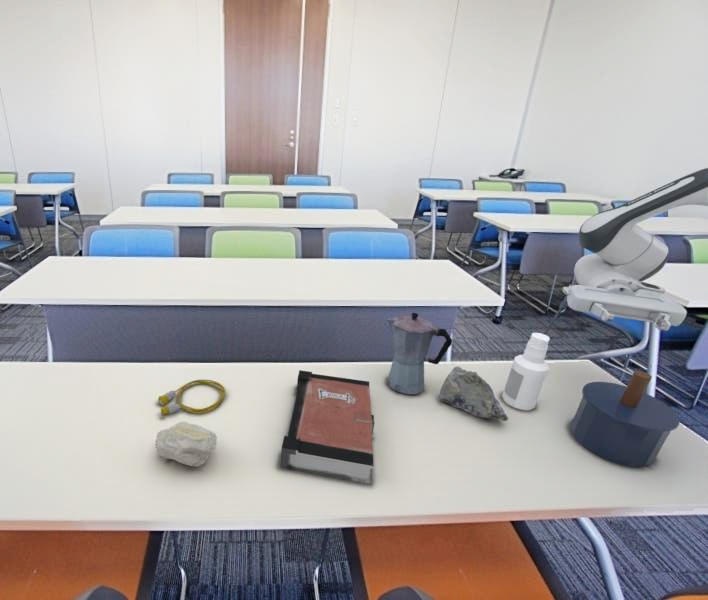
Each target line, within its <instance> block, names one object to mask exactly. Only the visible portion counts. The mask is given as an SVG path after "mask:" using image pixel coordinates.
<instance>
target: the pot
mask: <svg viewBox="0 0 708 600" xmlns="http://www.w3.org/2000/svg"><path fill="white" fill-rule="evenodd" d="M569 426H570V427H569V430H570V433H571V435H572V437H573V438H574V439H575V440H576V442H577V443H579V444H580V445H581V446H582V447H583V448H584V449H586V450H587V451H589V452H590V453H592V454H593V455H596V456H597V457H599V458H601V459H604V460H606V461H608V462H611V463H613V464H616V465H620V466H624V467H628V468H645V467H649V466H650V465H652V463H654V462H655V460H656V458H657V456H658V454H659V453H660V451H661V449H662V448H663V445H664V444H665V442H666V441H667V439H668V437H669V436H670V433H671V432H672V431H668V432H655V431H648V430H643V429H639V428H635V427H632V426H629V425H626V424H623V423H621V422H619V421H616V420H614V419H612V418H610V417H608V416H606V415H604V414H603V413H601V412H599V411H598V410H596V409H595V408H594V407H592V406H591V405H590V404H589V403H588V402H587V401H586V400H585V399H584V397H583V396H582V397H581V400H580V402H579V405H578V406H577V409H576V412H575V414H574V417H573V419H572V421H571V423H570V425H569Z"/></svg>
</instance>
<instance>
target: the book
mask: <svg viewBox="0 0 708 600" xmlns="http://www.w3.org/2000/svg"><path fill="white" fill-rule="evenodd" d="M298 371H299V372H298V376H297V380H296V381H297V383H296V396H295V401H294V406H293V411H292V415H291V420H290V423H289V430H288V433H287V435H284V436H283V439H282V444H281V452H280V468H281V469H286V470H287V469H288V470H292V471H298V472H302V473H308V474H313V475H317V476H324V477H329V478H334V479H339V480H345V481H349V482H356V483H361V484H365V485H371V482H372V478H371V476H372V475H371V470H374V467H375V466H374V448H373V435H374V428H375V416H374V415H375V414H372V410H371V409H372V407H371V388H370V387H371V386H370V381H369V380H368V381H366V380H362V379H361V380H360V379H353V378H347V377H340V376H339V377H338V376H332V375H326V374H325V375H324V374H316V373H313V371H308V370H301V369H300V370H298Z"/></svg>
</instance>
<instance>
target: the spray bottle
mask: <svg viewBox="0 0 708 600" xmlns="http://www.w3.org/2000/svg"><path fill="white" fill-rule="evenodd" d="M550 338H551V337H550V336H549V335H546V334H544V333H539V332H532V333H531V335H530V338H529V340H528V341H527V344H526V346H525V349H524V351H523V354H518V355H516V356H515V357H514V358H513V361H512V365H511V368H510V371H509V372H508V373H509V374H508V377H507V380H506V383H505V386H504V389H503V392H502V394H501V397H502V400H503V401H504V402H505V403H506V404H507V405H508V406H510V407H513V408H515V409H518V410H522V411H531V410H533V409H535V408H536V405H537V402H538V399H539V396H540V395H541V391H542V389H543V387H544V384H545V381H546V378H547V375H548V372H549V369H550V366H549V364H548V363H547V362H546V361H545V359H546V355H547V351H548V349H549V342H550Z"/></svg>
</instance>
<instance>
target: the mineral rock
mask: <svg viewBox="0 0 708 600" xmlns="http://www.w3.org/2000/svg"><path fill="white" fill-rule="evenodd" d="M438 399H439V400H440V401H441V402H445V403H448V404H449V405H452V407H454V408H458V409H461V410H463V412H466V413H470V414H471V415H474V416H475V417H478V418H484V419H493V420H498V421H502V422H507V421H509V417H508V415H507V413H506V412H505V410H504V408H503V407H502V406H501V403H500V401H499V400H498V399H497V398H496V396H495V394H494V391H493V388H492V387H491V385H490V384H489V383H487V381H486V380H485V379H483V378H482V377H481V376H480V375H479V374H478V373H477V371H471V370H469V371H468V370H465V369H463V368H462V367H460V366H459V365H458V366H454V367H453V368H452V370H451V371H450V372H449V374H448V375H447V376H446V378H445V379H444V380H443V384H442V386H441V387H440V389H439V393H438Z"/></svg>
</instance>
